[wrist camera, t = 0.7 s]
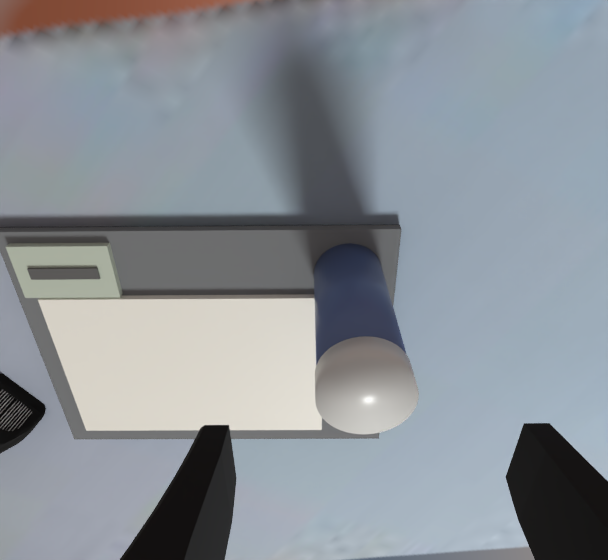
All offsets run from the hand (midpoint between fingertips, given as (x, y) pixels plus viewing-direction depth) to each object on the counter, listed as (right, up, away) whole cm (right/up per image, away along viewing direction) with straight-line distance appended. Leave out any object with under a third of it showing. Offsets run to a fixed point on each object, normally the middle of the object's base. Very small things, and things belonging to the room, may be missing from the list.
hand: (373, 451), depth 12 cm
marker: (0, +5, +8) cm, 9 cm away
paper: (-7, 0, +11) cm, 13 cm away
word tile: (-11, +5, +8) cm, 15 cm away
